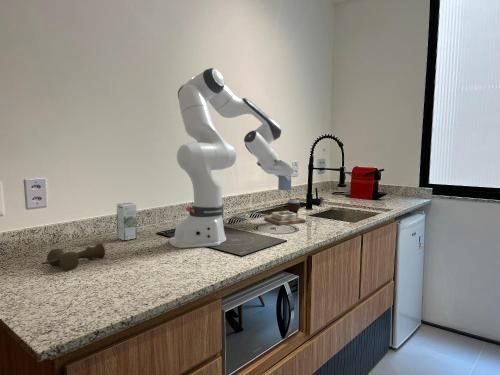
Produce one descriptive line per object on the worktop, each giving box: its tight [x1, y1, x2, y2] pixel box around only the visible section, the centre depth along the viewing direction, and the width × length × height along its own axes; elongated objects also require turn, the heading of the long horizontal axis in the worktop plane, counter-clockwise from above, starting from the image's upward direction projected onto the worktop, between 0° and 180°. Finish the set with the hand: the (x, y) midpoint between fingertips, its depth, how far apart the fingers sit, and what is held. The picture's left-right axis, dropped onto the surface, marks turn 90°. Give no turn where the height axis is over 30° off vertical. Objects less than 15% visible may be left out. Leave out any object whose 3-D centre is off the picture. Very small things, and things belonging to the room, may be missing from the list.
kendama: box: [41, 243, 106, 272], centre depth 121 cm, size 6×10×20 cm
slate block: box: [277, 175, 292, 191], centre depth 187 cm, size 4×4×10 cm
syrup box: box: [116, 202, 138, 241], centre depth 152 cm, size 6×6×14 cm
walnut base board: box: [263, 210, 307, 226], centre depth 189 cm, size 15×15×4 cm
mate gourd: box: [286, 190, 301, 214], centre depth 207 cm, size 8×8×15 cm
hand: (285, 179), depth 187 cm, fingers closed on slate block, 4 cm apart
